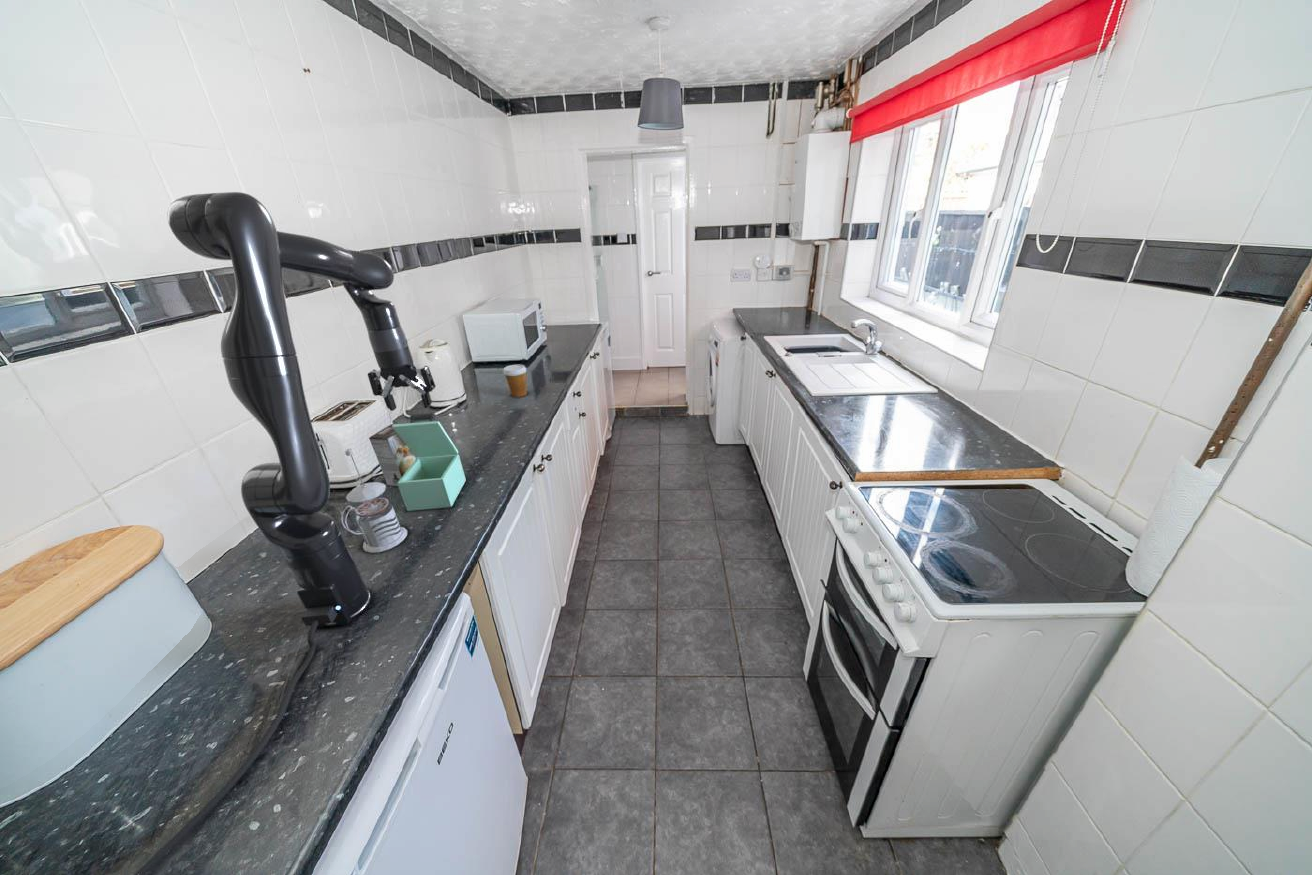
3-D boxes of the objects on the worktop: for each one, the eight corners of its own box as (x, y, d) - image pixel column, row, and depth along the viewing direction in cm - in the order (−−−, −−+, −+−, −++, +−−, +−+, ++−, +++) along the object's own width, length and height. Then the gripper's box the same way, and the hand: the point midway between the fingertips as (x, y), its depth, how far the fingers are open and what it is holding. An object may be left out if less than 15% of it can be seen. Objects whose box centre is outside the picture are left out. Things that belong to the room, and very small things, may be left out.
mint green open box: (451, 506, 122) (442, 479, 118) (407, 510, 121) (397, 483, 117) (466, 480, 134) (458, 454, 130) (425, 483, 133) (417, 457, 129)
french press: (416, 533, 112) (383, 444, 101) (369, 562, 103) (328, 468, 92) (392, 522, 117) (359, 435, 105) (346, 549, 108) (304, 458, 97)
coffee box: (407, 469, 141) (391, 423, 134) (425, 471, 140) (410, 424, 132) (386, 485, 133) (368, 437, 126) (405, 487, 132) (387, 438, 124)
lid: (438, 423, 117) (441, 406, 121) (392, 427, 117) (397, 410, 120) (458, 453, 129) (461, 437, 132) (416, 457, 129) (420, 441, 132)
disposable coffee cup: (506, 393, 198) (501, 366, 192) (528, 388, 201) (523, 362, 196) (510, 400, 190) (504, 372, 184) (532, 395, 193) (527, 368, 188)
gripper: (351, 352, 104) (375, 416, 112) (414, 348, 105) (434, 411, 112) (367, 343, 111) (388, 404, 118) (426, 339, 112) (444, 400, 119)
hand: (410, 408), depth 115 cm, fingers open, 8 cm apart
